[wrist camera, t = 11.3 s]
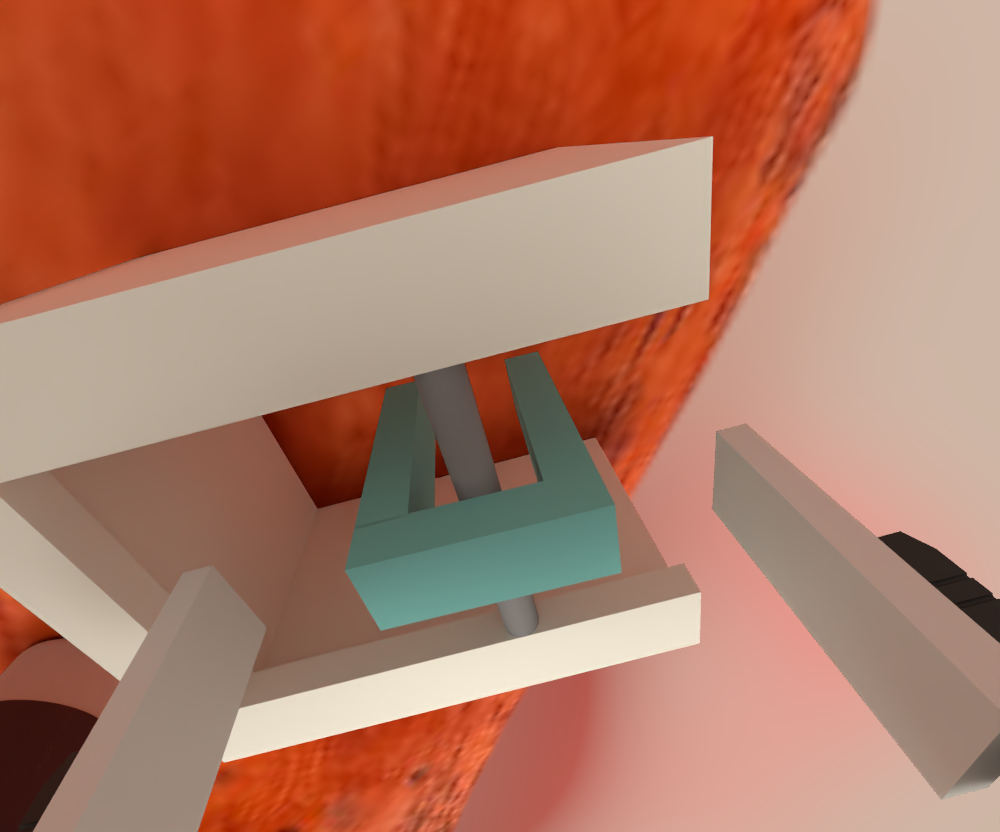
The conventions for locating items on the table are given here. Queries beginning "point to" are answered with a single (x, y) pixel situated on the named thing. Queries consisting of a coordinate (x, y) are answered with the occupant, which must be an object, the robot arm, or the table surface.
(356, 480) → the table surface
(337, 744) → the table surface
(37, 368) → the white c-frame
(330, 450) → the table surface
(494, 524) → the teal u-shaped bracket
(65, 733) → the coffee cup
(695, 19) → the table surface
